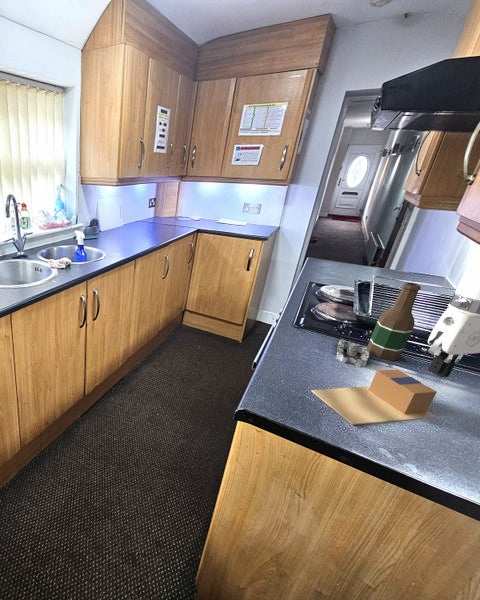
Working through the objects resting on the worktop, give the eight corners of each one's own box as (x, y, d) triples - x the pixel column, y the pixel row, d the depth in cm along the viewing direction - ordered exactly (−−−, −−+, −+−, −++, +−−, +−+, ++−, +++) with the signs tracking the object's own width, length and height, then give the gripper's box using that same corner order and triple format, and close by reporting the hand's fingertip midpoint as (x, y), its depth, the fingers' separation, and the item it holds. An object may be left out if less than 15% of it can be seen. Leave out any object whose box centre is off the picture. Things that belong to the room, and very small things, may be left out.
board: (385, 385, 87) (386, 384, 87) (436, 418, 76) (436, 416, 76) (311, 391, 84) (311, 390, 84) (352, 425, 73) (353, 423, 73)
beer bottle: (368, 347, 105) (396, 277, 96) (400, 357, 100) (434, 284, 90) (362, 356, 101) (391, 283, 91) (395, 367, 95) (430, 291, 86)
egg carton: (364, 371, 93) (369, 359, 91) (332, 361, 98) (336, 350, 96) (366, 355, 100) (371, 344, 99) (337, 347, 105) (341, 336, 103)
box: (388, 388, 85) (397, 369, 83) (426, 412, 77) (437, 391, 75) (368, 390, 85) (376, 370, 82) (404, 414, 76) (414, 393, 74)
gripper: (467, 312, 68) (428, 385, 75) (526, 311, 70) (482, 381, 77) (427, 299, 75) (395, 366, 82) (482, 297, 77) (445, 363, 84)
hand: (437, 373), depth 79 cm, fingers closed
